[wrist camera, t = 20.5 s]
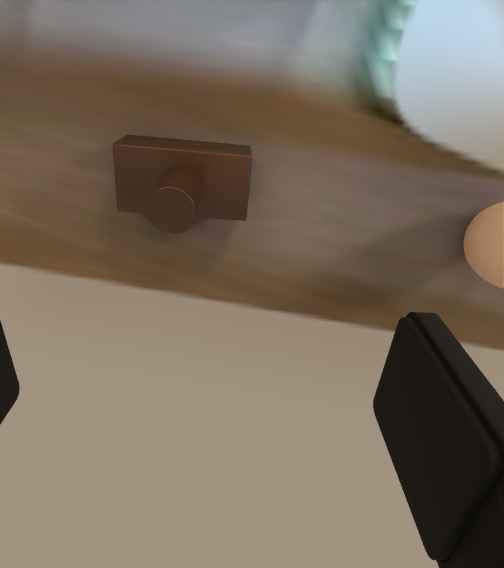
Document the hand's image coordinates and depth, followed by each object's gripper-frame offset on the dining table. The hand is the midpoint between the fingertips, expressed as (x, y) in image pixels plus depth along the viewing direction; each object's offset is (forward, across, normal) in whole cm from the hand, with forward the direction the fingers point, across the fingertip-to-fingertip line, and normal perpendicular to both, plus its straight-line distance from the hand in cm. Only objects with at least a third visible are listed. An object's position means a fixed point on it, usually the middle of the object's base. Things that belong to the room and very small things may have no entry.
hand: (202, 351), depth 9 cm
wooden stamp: (+20, +3, +1) cm, 20 cm away
